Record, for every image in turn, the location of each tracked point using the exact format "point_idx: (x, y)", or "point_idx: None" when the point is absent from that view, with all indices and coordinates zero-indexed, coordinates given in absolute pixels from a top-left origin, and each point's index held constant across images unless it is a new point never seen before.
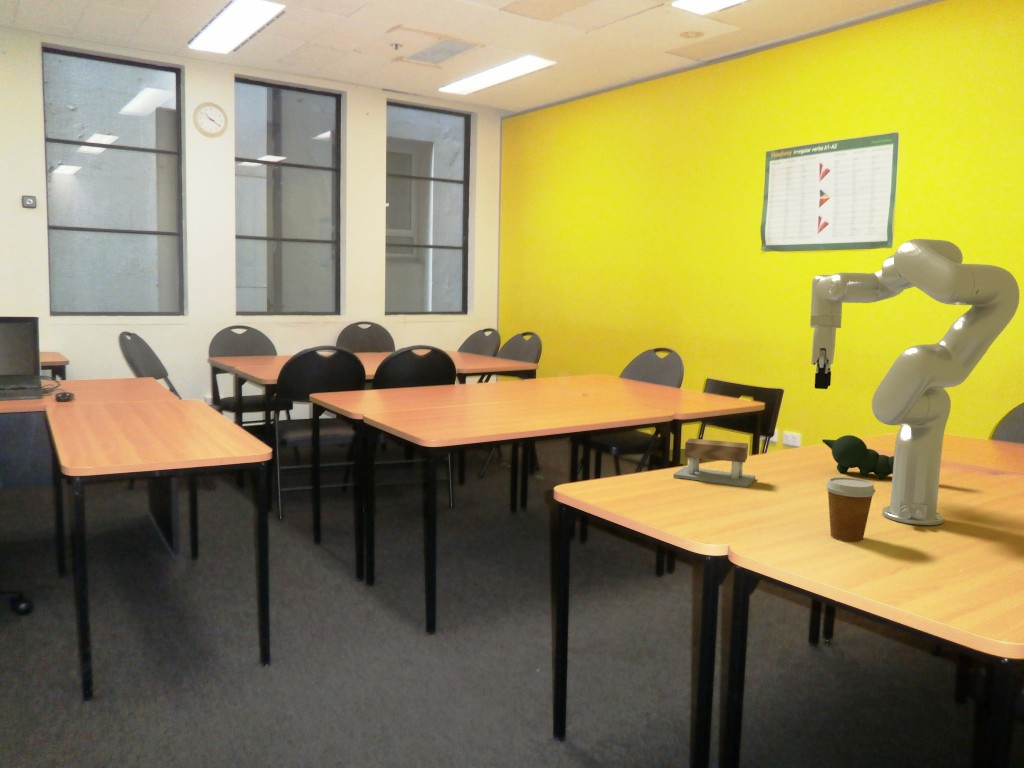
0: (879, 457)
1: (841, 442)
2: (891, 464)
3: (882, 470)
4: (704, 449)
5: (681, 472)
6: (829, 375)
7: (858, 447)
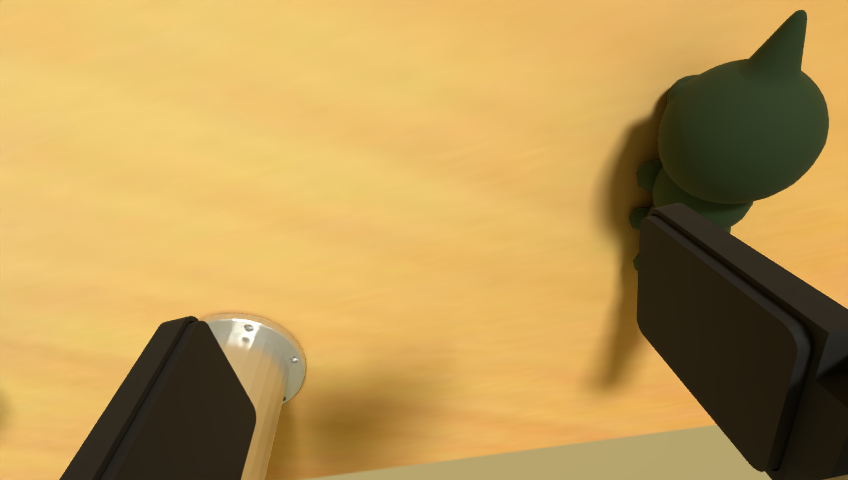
0: None
1: (727, 123)
2: None
3: None
4: None
5: None
6: (722, 418)
7: (700, 187)
